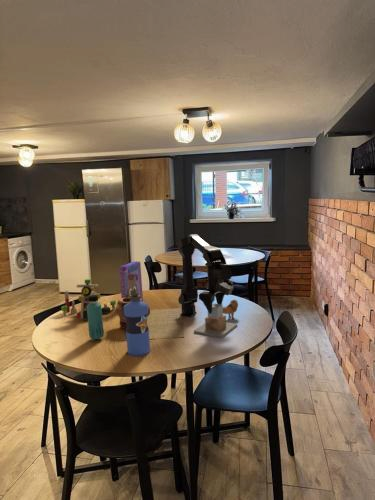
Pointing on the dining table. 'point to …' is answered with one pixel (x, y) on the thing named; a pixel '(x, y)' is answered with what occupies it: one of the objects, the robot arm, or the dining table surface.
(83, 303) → the toy construction set
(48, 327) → the dining table surface
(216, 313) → the slate-gray cube
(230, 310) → the lion figurine
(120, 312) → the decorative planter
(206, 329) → the tower base
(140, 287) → the cereal box
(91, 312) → the teal caped figurine
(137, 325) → the water bottle
